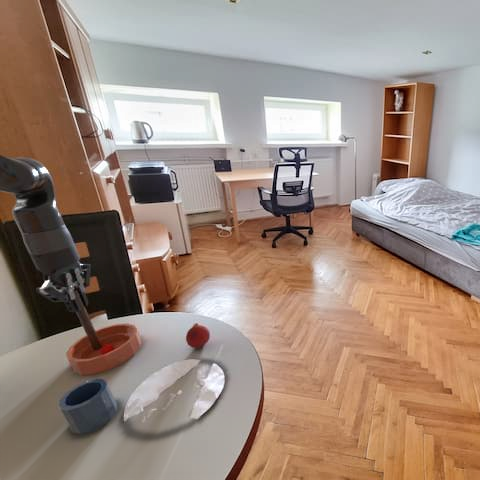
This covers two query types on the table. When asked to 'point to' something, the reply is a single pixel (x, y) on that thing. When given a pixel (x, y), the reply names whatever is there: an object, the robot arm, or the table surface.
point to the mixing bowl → (94, 361)
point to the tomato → (107, 348)
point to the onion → (197, 336)
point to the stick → (87, 324)
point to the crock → (88, 406)
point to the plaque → (166, 378)
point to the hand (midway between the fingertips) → (79, 308)
